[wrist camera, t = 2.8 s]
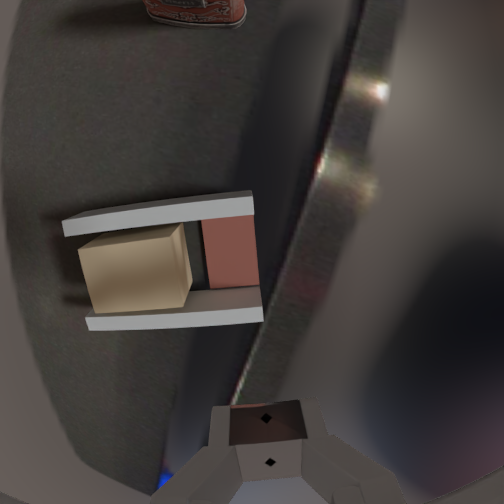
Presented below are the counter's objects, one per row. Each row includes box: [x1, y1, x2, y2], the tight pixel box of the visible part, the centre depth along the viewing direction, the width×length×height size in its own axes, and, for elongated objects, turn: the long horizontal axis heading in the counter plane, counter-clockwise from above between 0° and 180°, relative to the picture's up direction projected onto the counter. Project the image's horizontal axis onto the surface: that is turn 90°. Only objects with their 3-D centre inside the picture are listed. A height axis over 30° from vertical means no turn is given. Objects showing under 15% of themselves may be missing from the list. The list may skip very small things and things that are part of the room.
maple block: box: [78, 222, 192, 314], centre depth 24 cm, size 5×7×5 cm
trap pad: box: [201, 215, 259, 289], centre depth 26 cm, size 6×4×1 cm, turn 5°
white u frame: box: [62, 190, 263, 330], centre depth 24 cm, size 9×14×4 cm, turn 95°
